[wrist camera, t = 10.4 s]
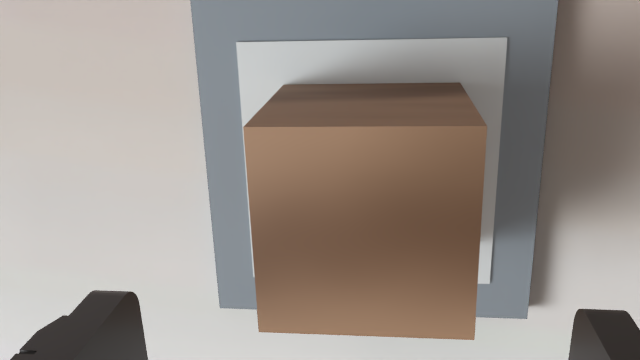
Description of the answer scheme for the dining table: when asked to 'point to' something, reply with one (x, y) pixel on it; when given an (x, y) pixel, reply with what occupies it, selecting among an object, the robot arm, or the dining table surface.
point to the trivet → (382, 67)
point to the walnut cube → (367, 209)
